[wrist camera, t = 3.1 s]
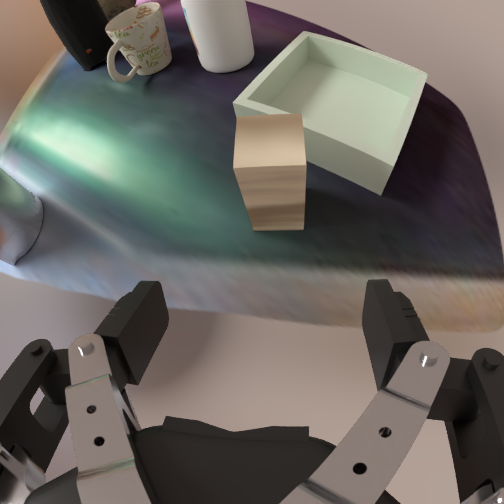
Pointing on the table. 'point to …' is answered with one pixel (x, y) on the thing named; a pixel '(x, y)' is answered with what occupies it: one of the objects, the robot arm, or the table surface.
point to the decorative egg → (115, 7)
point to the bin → (340, 104)
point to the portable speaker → (80, 29)
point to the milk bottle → (220, 33)
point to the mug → (139, 41)
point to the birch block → (271, 170)
